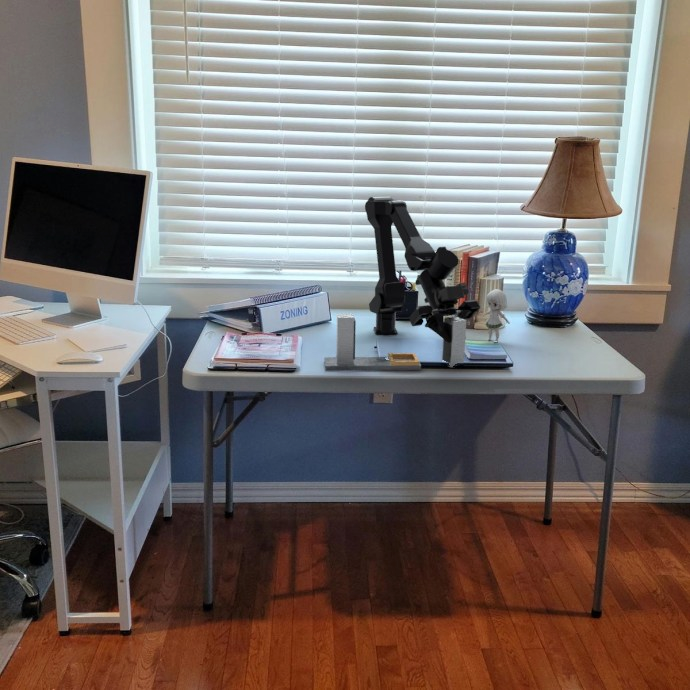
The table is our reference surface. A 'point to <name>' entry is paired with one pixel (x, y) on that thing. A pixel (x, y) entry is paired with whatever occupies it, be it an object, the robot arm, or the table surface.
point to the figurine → (495, 311)
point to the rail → (350, 362)
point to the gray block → (454, 341)
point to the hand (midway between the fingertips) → (457, 341)
